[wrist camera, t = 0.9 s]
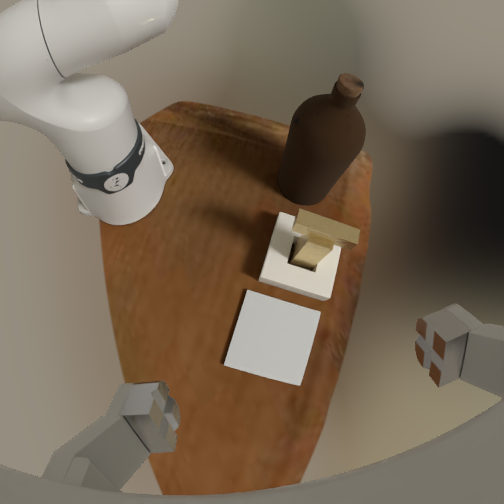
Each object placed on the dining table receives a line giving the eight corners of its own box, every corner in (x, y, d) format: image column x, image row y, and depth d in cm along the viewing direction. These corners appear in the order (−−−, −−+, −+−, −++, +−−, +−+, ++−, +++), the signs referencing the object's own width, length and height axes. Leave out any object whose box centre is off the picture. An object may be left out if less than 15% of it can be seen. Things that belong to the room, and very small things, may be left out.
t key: (273, 261, 49) (294, 228, 35) (279, 242, 50) (300, 203, 36) (320, 276, 49) (356, 249, 35) (325, 257, 50) (360, 224, 36)
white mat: (223, 364, 44) (223, 365, 43) (247, 290, 47) (247, 289, 47) (299, 385, 44) (300, 385, 43) (319, 312, 47) (320, 311, 47)
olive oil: (298, 219, 52) (354, 125, 28) (262, 173, 54) (289, 64, 30) (342, 191, 54) (407, 101, 30) (306, 150, 56) (348, 49, 32)
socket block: (258, 281, 48) (260, 276, 45) (276, 219, 51) (280, 211, 48) (323, 301, 48) (330, 298, 45) (337, 239, 51) (343, 233, 48)
